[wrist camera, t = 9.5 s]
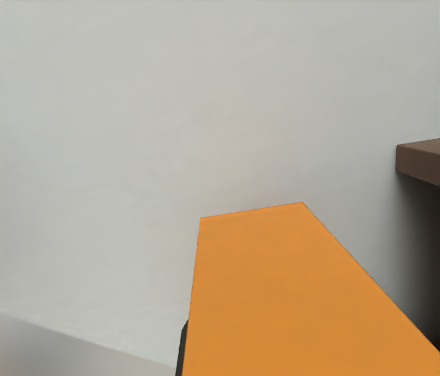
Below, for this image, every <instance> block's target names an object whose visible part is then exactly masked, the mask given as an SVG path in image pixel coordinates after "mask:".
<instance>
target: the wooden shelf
mask: <svg viewBox="0 0 440 376" xmlns="http://www.w3.org/2000/svg"><path fill="white" fill-rule="evenodd" d="M396 171H399V172H401V173H404V174H407V175H410V176H412V177H415V178H418V179H421V180H423V181H426V182H429V183H431V184H434V185H437V186H440V138H438V139H432V140H426V141H420V142H413V143H407V144H401V145H397V158H396ZM432 345H433V346H434V347H435V348H436V349H437V350H438V351H439V352H440V342H434V343H432Z"/></svg>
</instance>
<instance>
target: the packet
mask: <svg viewBox="0 0 440 376" xmlns="http://www.w3.org/2000/svg"><path fill="white" fill-rule="evenodd" d="M182 376H440V352H439V351H438V350H437V349H436V348H435V347H434V346H433V345H432V343H431V342H430V341H429V340H428V339H427V338H426V337H425V336H424V335H423V334H422V332H421V331H420V330H419V329H418V328H417V327H416V326H415V325H414V324H413V323H412V322H411V320H410V319H409V318H408V317H407V316H406V315H405V314H404V313H403V312H402V311H401V309H400V308H399V307H398V306H397V305H396V304H395V303H394V302H393V301H392V300H391V298H390V297H389V296H388V295H387V294H386V293H385V292H384V291H383V290H382V289H381V288H380V286H379V285H378V284H377V283H376V282H375V281H374V280H373V279H372V278H371V277H370V275H369V274H368V273H367V272H366V271H365V270H364V269H363V268H362V267H361V266H360V264H359V263H358V262H357V261H356V260H355V259H354V258H353V257H352V256H351V255H350V254H349V252H348V251H347V250H346V249H345V248H344V247H343V246H342V245H341V244H340V243H339V241H338V240H337V239H336V238H335V237H334V236H333V235H332V234H331V233H330V232H329V230H328V229H327V228H326V227H325V226H324V225H323V224H322V223H321V222H320V221H319V219H318V218H317V217H316V216H315V215H314V214H313V213H312V212H311V211H310V210H309V209H308V207H307V206H306V205H305V204H304V203H303V202H299V203H292V204H286V205H280V206H273V207H267V208H261V209H254V210H248V211H242V212H235V213H229V214H222V215H216V216H210V217H203V218H200V226H199V235H198V243H197V252H196V260H195V269H194V277H193V286H192V294H191V303H190V311H189V320H188V329H187V337H186V346H185V354H184V363H183V371H182Z"/></svg>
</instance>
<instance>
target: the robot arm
mask: <svg viewBox="0 0 440 376" xmlns="http://www.w3.org/2000/svg"><path fill="white" fill-rule="evenodd" d="M187 329H188V320H187V322H186V324H185V325H184V327H183V329H182V332H181V339H180V346H179V353H178V360H177V368H176V375H175V376H182V371H183V363H184V354H185V346H186V337H187Z"/></svg>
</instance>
